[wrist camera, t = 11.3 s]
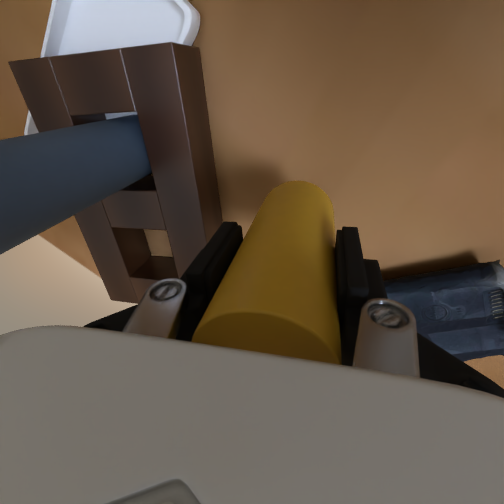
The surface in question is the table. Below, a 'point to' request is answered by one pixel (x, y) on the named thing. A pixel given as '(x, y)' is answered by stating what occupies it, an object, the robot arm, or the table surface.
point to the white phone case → (115, 29)
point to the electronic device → (457, 308)
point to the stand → (157, 145)
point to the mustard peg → (281, 282)
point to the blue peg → (65, 173)
